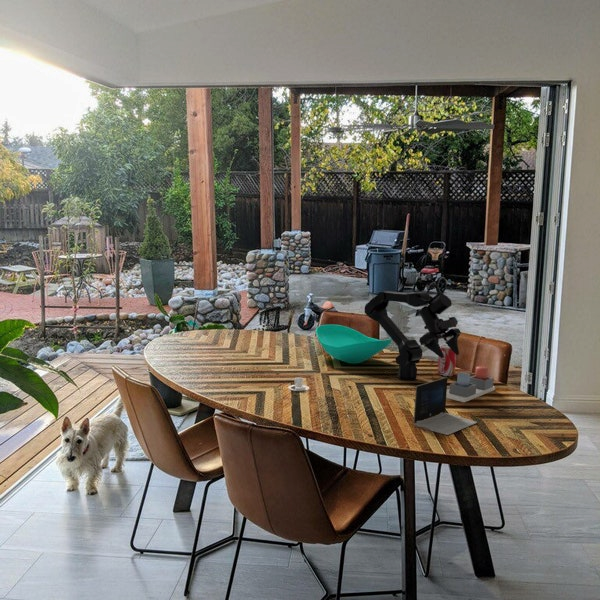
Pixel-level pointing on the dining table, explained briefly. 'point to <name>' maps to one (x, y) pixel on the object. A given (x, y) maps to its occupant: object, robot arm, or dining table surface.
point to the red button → (481, 372)
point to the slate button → (463, 379)
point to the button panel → (470, 389)
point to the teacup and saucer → (298, 385)
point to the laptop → (436, 409)
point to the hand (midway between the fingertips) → (450, 356)
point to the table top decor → (348, 343)
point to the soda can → (447, 361)
